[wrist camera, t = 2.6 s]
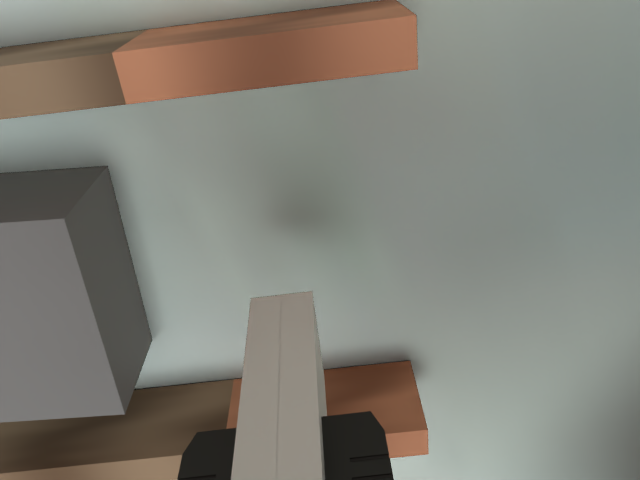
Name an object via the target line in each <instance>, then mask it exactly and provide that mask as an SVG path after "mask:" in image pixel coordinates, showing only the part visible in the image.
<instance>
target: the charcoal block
mask: <svg viewBox="0 0 640 480" xmlns="http://www.w3.org/2000/svg"><path fill="white" fill-rule="evenodd" d="M151 342H152V337H151V333H150V329H149V325H148V321H147V317H146V313H145V310H144V306H143V302H142V298H141V294H140V290H139V286H138V282H137V278H136V275H135V271H134V267H133V263H132V259H131V255H130V251H129V247H128V243H127V240H126V236H125V232H124V228H123V224H122V220H121V216H120V212H119V208H118V204H117V201H116V197H115V193H114V189H113V185H112V181H111V177H110V173H109V169H108V166H100V167H85V168H70V169H56V170H41V171H26V172H11V173H0V423H2V422H18V421H33V420H48V419H63V418H78V417H93V416H108V415H123V414H125V413H126V410H127V407H128V405H129V402H130V399H131V396H132V394H133V391H134V388H135V385H136V383H137V380H138V377H139V375H140V372H141V369H142V366H143V364H144V361H145V358H146V355H147V353H148V350H149V347H150V344H151Z"/></svg>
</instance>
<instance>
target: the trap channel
mask: <svg viewBox="0 0 640 480" xmlns="http://www.w3.org/2000/svg"><path fill="white" fill-rule="evenodd" d="M416 69H418V55H417V19H416V15H415V14H414V13H413V12H411V11H410V10H408V9H407V8H406V7H404V6H403V5H402V4H400V3H399V2H397V1H396V0H381V1H373V2H365V3H357V4H349V5H341V6H333V7H325V8H317V9H309V10H301V11H293V12H285V13H276V14H268V15H260V16H252V17H244V18H236V19H228V20H220V21H212V22H204V23H196V24H188V25H179V26H171V27H163V28H155V29H147V30H139V31H131V32H123V33H115V34H107V35H99V36H91V37H83V38H74V39H66V40H58V41H50V42H42V43H34V44H26V45H18V46H10V47H2V48H0V119H8V118H17V117H25V116H33V115H42V114H50V113H58V112H67V111H75V110H83V109H92V108H100V107H108V106H116V105H125V104H133V103H141V102H150V101H158V100H166V99H175V98H183V97H191V96H200V95H208V94H216V93H225V92H233V91H241V90H250V89H258V88H266V87H275V86H283V85H291V84H299V83H308V82H316V81H324V80H333V79H341V78H349V77H358V76H366V75H374V74H383V73H391V72H399V71H408V70H416ZM324 380H325V394H326V408H327V416H331V415H340V414H349V413H358V412H367V411H371V412H372V414H373V415H374V416H375V418H376V419H377V420H378V422H379V423H380V425H381V426H382V427H383V429H384V430H385V435H386V441H387V446H388V451H389V458H395V457H405V456H415V455H425V454H428V428H427V425H426V421H425V417H424V413H423V409H422V405H421V401H420V397H419V393H418V389H417V385H416V381H415V377H414V373H413V370H412V366H411V362H410V361H402V362H393V363H383V364H374V365H364V366H355V367H346V368H336V369H327V370H324ZM241 384H242V379H233V380H223V381H214V382H204V383H195V384H186V385H176V386H167V387H157V388H148V389H138V390H134V391H133V394H132V396H131V399H130V402H129V405H128V407H127V410H126V413H125V414H123V415H108V416H93V417H78V418H63V419H48V420H33V421H18V422H2V423H0V480H178V479H177V478H178V473H179V468H180V464H181V459H182V454H183V453H184V451H185V450H186V448H187V447H188V445H189V444H190V442H191V440H192V439H193V437H194V436H195V434H196V433H197V432H203V431H212V430H221V429H229V428H237V420H238V411H239V402H240V393H241Z"/></svg>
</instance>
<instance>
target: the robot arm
mask: <svg viewBox="0 0 640 480" xmlns="http://www.w3.org/2000/svg"><path fill="white" fill-rule="evenodd" d="M177 479H178V480H394V479H393V474H392V468H391V462H390V458H389V451H388V446H387V441H386V435H385V430H384V429H383V427H382V426H381V425H380V423H379V422H378V420H377V419H376V418H375V416H374V415H373V414H372V412H371V411H367V412H358V413H349V414H340V415H331V416H327V408H326V394H325V380H324V370H323V363H322V356H321V349H320V342H319V335H318V328H317V322H316V315H315V308H314V301H313V294H312V291H309V292H300V293H292V294H283V295H275V296H266V297H258V298H251V302H250V311H249V320H248V329H247V338H246V347H245V356H244V365H243V374H242V384H241V393H240V402H239V411H238V420H237V428H229V429H221V430H212V431H203V432H197V433H196V434H195V436H194V437H193V439H192V440H191V442H190V444H189V445H188V447H187V448H186V450H185V451H184V453H183V454H182V459H181V464H180V468H179V473H178V478H177Z"/></svg>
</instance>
